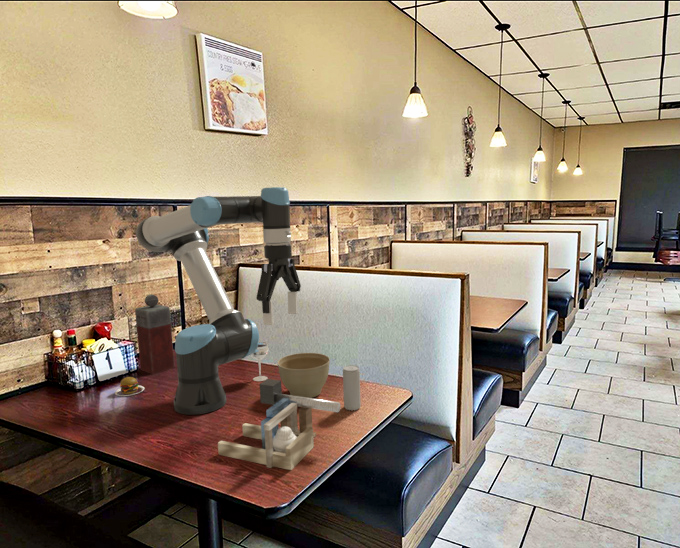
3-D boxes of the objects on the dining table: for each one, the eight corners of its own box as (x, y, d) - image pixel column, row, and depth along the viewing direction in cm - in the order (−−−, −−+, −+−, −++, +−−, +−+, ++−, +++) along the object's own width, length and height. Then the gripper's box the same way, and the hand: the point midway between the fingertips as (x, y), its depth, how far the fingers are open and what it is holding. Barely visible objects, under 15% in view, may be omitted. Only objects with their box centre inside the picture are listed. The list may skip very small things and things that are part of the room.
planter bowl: (290, 382, 161) (288, 351, 160) (336, 386, 157) (335, 353, 155) (270, 401, 146) (269, 367, 144) (321, 406, 141) (320, 370, 140)
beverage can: (359, 411, 137) (358, 370, 135) (342, 410, 138) (341, 370, 136) (361, 404, 141) (360, 365, 140) (345, 404, 142) (344, 364, 141)
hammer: (240, 449, 116) (237, 398, 115) (270, 425, 129) (267, 378, 127) (319, 465, 108) (316, 410, 106) (342, 438, 120) (341, 388, 118)
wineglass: (246, 379, 165) (244, 345, 164) (260, 373, 171) (258, 341, 169) (260, 383, 161) (258, 348, 160) (274, 377, 167) (272, 343, 165)
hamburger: (149, 384, 166) (148, 369, 165) (149, 396, 155) (148, 380, 154) (111, 390, 161) (109, 374, 161) (108, 403, 150) (106, 386, 150)
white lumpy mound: (291, 463, 110) (290, 434, 109) (267, 459, 112) (266, 431, 111) (302, 450, 116) (301, 422, 115) (279, 446, 118) (278, 419, 117)
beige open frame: (216, 456, 115) (213, 415, 113) (247, 432, 126) (245, 395, 125) (289, 472, 107) (287, 428, 105) (315, 445, 118) (313, 406, 117)
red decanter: (159, 362, 188) (153, 291, 184) (175, 367, 181) (168, 293, 177) (137, 368, 181) (130, 295, 177) (152, 374, 174) (145, 298, 170)
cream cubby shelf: (277, 436, 123) (276, 407, 122) (285, 430, 127) (284, 401, 126) (308, 442, 120) (307, 412, 119) (316, 435, 123) (314, 405, 122)
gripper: (264, 248, 121) (269, 330, 124) (310, 240, 144) (313, 310, 147) (239, 248, 124) (244, 328, 127) (288, 240, 147) (291, 309, 150)
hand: (281, 319), depth 137 cm, fingers open, 13 cm apart
